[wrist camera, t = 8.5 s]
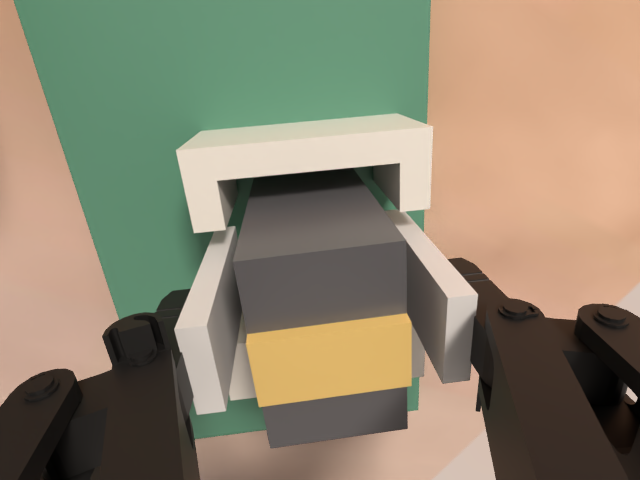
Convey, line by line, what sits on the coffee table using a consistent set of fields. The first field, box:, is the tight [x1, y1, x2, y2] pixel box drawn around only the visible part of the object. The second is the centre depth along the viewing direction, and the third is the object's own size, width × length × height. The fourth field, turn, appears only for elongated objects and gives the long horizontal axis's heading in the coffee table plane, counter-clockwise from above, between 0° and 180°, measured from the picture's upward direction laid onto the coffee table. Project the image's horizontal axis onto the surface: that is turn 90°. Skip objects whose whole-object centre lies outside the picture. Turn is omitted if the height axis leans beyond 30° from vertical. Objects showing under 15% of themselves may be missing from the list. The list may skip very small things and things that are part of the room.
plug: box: [233, 168, 412, 448], centre depth 14 cm, size 4×6×8 cm, turn 5°
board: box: [14, 0, 433, 439], centre depth 16 cm, size 14×22×5 cm, turn 4°
